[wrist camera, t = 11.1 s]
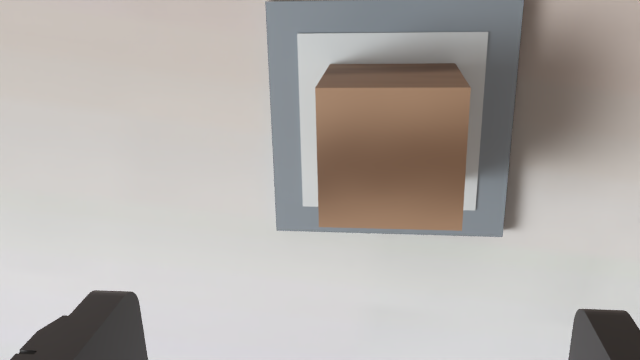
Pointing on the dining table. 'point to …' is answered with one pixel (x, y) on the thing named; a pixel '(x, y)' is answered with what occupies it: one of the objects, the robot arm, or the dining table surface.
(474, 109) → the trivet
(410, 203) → the walnut cube
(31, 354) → the robot arm
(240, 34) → the dining table surface
